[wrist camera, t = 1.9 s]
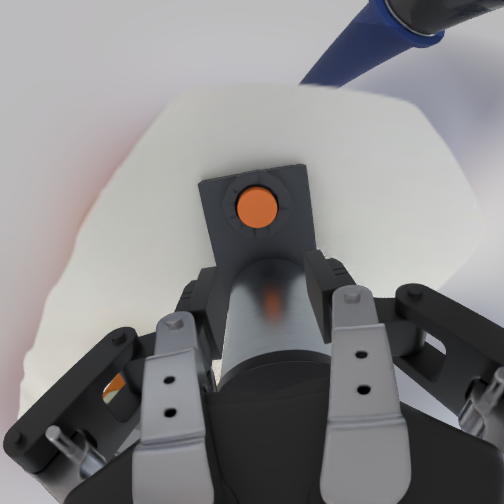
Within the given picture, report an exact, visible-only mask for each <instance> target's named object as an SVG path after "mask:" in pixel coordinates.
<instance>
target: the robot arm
mask: <svg viewBox="0 0 504 504" xmlns="http://www.w3.org/2000/svg"><path fill="white" fill-rule="evenodd" d="M383 3H384V5H385V8H386V9H387V11H388V13H389V14H390V15H391V17H392V18H393V19H394V20H395V21H396V22H397V23H398V24H399V25H400V26H401V27H403V28H404V29H405V30H407V31H409V32H410V33H412V34H414V35H417V36H420V37H431V36H434V35H436V34H437V33H439V32H441V31H443V30H445V29H447V28H450V27H452V26H455V25H457V24H459V23H462V22H464V21H467V20H469V19H472V18H474V17H477V16H479V15H482V14H485V13H487V12H491V11H493V10H496V9H499V8H502V7H504V0H383ZM303 259H304V268H305V278H306V287H307V293H308V297H309V300H310V303H311V306H312V309H313V312H314V315H315V318H316V321H317V324H318V327H319V330H320V333H321V336H322V339H323V342H324V344H329V343H332V345H331V374H330V377H325V378H320V379H315V380H309V381H304V382H302V383H299V384H296V385H294V386H291V387H288V388H285V389H282V390H279V391H276V392H273V393H270V394H259V393H247V392H237V391H222V392H218V391H217V386H216V381H215V377H214V372H213V369H212V367H211V366H212V360H219V359H222V352H223V344H224V336H225V328H226V321H227V313H228V303H227V297H226V293H225V289H224V285H223V281H222V277H221V273H220V270H219V267H218V266H215V267H209V268H203V269H201V271H200V274H199V276H198V279H197V280H194V281H191V282H190V283H189V284H188V285H187V286H186V287H185V288H184V290H183V293H182V295H181V297H180V300H179V302H178V304H177V307H176V309H175V312H174V313H171V314H168V315H166V316H165V317H163V318H162V319H161V320H160V321H159V322H158V324H157V326H156V332H154V333H150V334H147V335H143V336H140V337H138V335H137V333H136V331H135V329H133V328H131V327H121V328H118V329H115V330H113V331H112V332H110V333H109V334H107V335H106V336H105V337H104V338H103V339H102V340H101V341H100V342H99V343H98V344H96V345H95V346H94V347H93V348H92V349H91V350H90V351H89V352H88V353H87V354H86V355H85V356H84V357H82V358H81V359H80V360H79V361H78V362H77V363H76V364H75V365H74V366H73V367H72V368H71V369H70V370H69V371H68V372H67V373H66V374H65V375H63V376H62V377H61V378H60V379H59V380H58V381H57V382H56V383H55V384H54V385H53V386H52V387H51V388H50V389H49V390H48V391H47V392H46V393H45V394H44V395H43V396H42V397H41V398H40V399H39V400H38V401H37V402H36V403H35V404H34V405H33V406H32V407H31V408H30V409H29V410H28V411H27V412H26V413H25V414H24V415H23V416H22V417H21V418H20V419H19V420H18V421H17V422H16V423H15V424H14V425H13V426H12V427H11V428H10V429H9V430H8V432H7V433H6V435H5V437H4V441H3V448H4V450H5V452H6V454H7V455H8V456H9V457H11V458H12V459H13V460H14V461H15V462H16V463H17V464H19V465H20V466H21V467H22V468H23V469H24V470H25V471H26V472H27V473H28V474H29V475H31V476H32V477H33V478H35V479H36V480H37V481H39V482H40V483H41V484H42V485H43V486H44V487H45V489H46V490H47V491H49V493H50V494H51V495H52V496H53V497H54V498H55V499H56V500H57V501H58V502H59V503H60V504H504V328H502V327H500V326H499V325H497V324H495V323H494V322H492V321H490V320H488V319H487V318H485V317H483V316H481V315H479V314H478V313H476V312H474V311H472V310H470V309H468V308H467V307H465V306H463V305H461V304H459V303H457V302H455V301H454V300H452V299H450V298H448V297H446V296H444V295H442V294H440V293H438V292H436V291H435V290H433V289H431V288H429V287H427V286H425V285H422V284H415V283H411V284H405V285H402V286H400V287H399V288H398V289H397V290H396V294H395V298H375V297H373V295H372V292H371V291H370V290H369V289H368V288H366V287H364V286H360V285H357V284H356V283H355V281H354V280H353V279H352V277H351V276H350V274H349V273H348V271H347V270H346V269H345V267H344V266H343V264H342V263H341V262H340V261H338V260H336V259H334V258H331V259H325V257H324V255H323V254H322V252H321V251H320V250H314V251H308V252H303ZM426 333H429V334H431V335H432V336H433V337H435V338H436V339H438V340H439V341H441V342H442V343H443V344H444V346H445V348H446V355H445V354H443V353H442V352H440V351H439V350H437V349H436V348H434V347H433V346H432V345H430V344H429V343H427V342H426V341H425V338H426ZM393 363H394V364H395V365H396V366H397V367H398V368H400V369H401V370H402V371H403V372H404V373H406V374H407V375H408V376H409V377H410V378H412V379H413V380H414V381H415V382H417V383H418V384H419V385H420V386H421V387H423V388H424V389H425V390H426V391H427V392H429V393H430V394H431V395H432V396H433V397H435V398H436V399H437V400H438V401H439V402H441V403H442V404H443V405H444V406H445V407H447V408H448V409H449V410H450V411H452V412H453V413H454V414H455V415H456V416H458V421H459V425H460V427H461V430H460V429H457V428H455V427H453V426H451V425H448V424H446V423H444V422H442V421H440V420H438V419H435V418H433V417H431V416H429V415H427V414H425V413H423V412H421V411H419V410H417V409H415V408H413V407H411V406H409V405H407V404H405V403H403V402H401V401H399V395H398V388H397V382H396V377H395V371H394V365H393ZM118 373H119V374H120V376H121V378H122V379H123V381H124V382H125V385H124V386H123V387H122V388H121V389H120V390H119V391H118V392H117V394H116V395H115V396H114V397H113V398H112V399H111V400H110V402H109V403H108V404H106V403H105V402H104V400H103V391H104V389H105V387H106V386H107V385H108V384H109V383H110V382H111V381H112V380H113V379H114V377H115V376H116V375H117V374H118ZM139 422H140V438H139V439H138V440H137V441H136V442H134V443H133V444H132V445H131V446H129V447H128V448H127V449H126V450H124V451H123V452H122V453H120V454H119V455H118V456H117V457H115V458H114V459H113V460H111V461H110V459H111V458H112V457H113V456H114V454H115V453H116V452H117V450H118V449H119V448H120V447H121V445H122V444H123V443H124V441H125V440H126V439H127V438H128V436H129V435H130V434H131V432H132V431H133V430H134V428H135V427H136V426H137V425H138V423H139ZM109 461H110V462H109ZM108 462H109V463H108Z"/></svg>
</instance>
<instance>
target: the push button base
mask: <svg viewBox="0 0 504 504" xmlns="http://www.w3.org/2000/svg"><path fill="white" fill-rule="evenodd" d="M198 187H199V192H200V196H201V201H202V205H203V210H204V214H205V219H206V223H207V227H208V232H209V236H210V240H211V245H212V249H213V253H214V257H215V261H216V265H217V266H218V267H219V270H220V273H221V277H222V281H223V285H224V289H225V293H226V297H227V303H228V311H229V303H230V296H231V289H232V285H233V283H234V281H235V279H236V278H237V276H238V275H239V274H240V273H241V271H243V270H244V269H245V268H246V267H248V266H249V265H251V264H253V263H255V262H258V261H260V260H265V259H283V260H287V261H290V262H293V263H295V264H297V265H298V266H300V267H301V268H302V269H303V270H304V271H305V268H304V259H303V252H308V251H314V250H316V243H315V233H314V224H313V215H312V207H311V199H310V191H309V184H308V176H307V170H306V165H304V164H297V165H289V166H283V167H276V168H270V169H263V170H254V171H248V172H243V173H240V174H235V175H229V176H224V177H219V178H214V179H209V180H204V181H201V182H200V183H198ZM252 187H262V188H265V189H267V190H268V191H269V192H270V193H271V194H272V195H273V197H274V199H275V201H276V204H277V213H276V216H275V218H274V220H273V221H272V222H271V223H270V224H269V225H267V226H265V227H261V228H253V227H250V226H247V225H246V224H245V223H243V222H242V220H241V219H240V217H239V215H238V211H237V207H238V202H239V198H240V196H241V195H242V194H243V192H244V191H246V190H247V189H249V188H252Z"/></svg>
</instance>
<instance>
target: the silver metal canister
mask: <svg viewBox="0 0 504 504" xmlns="http://www.w3.org/2000/svg"><path fill="white" fill-rule="evenodd" d="M331 345H332V343H329V344H324V342H323V339H322V336H321V333H320V330H319V327H318V324H317V321H316V318H315V315H314V312H313V309H312V306H311V303H310V300H309V297H308V293H307V287H306V278H305V271H304V270H303V269H302V268H301V267H300V266H298V265H297V264H295V263H293V262H290V261H287V260H283V259H265V260H260V261H258V262H255V263H253V264H251V265H249V266H248V267H246V268H245V269H244V270H243V271H241V273H240V274H239V275H238V276H237V278H236V279H235V281H234V283H233V285H232V289H231V296H230V303H229V311H228V319H227V327H226V335H225V343H224V351H223V359H222V368H221V376H220V382H219V383H218V385H217V391H218V392H222V391H237V392H247V393H259V394H270V393H273V392H276V391H279V390H282V389H285V388H288V387H291V386H294V385H296V384H299V383H302V382H304V381H309V380H315V379H320V378H325V377H330V374H331Z"/></svg>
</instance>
